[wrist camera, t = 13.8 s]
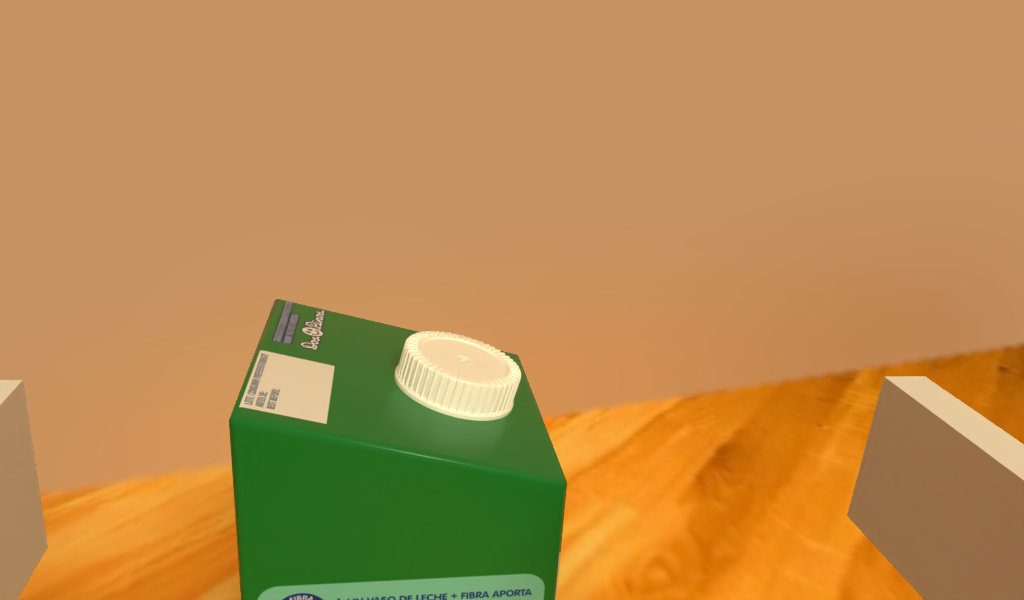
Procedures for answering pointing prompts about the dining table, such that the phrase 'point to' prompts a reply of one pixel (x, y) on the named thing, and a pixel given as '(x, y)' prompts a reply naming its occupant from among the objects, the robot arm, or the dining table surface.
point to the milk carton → (390, 467)
